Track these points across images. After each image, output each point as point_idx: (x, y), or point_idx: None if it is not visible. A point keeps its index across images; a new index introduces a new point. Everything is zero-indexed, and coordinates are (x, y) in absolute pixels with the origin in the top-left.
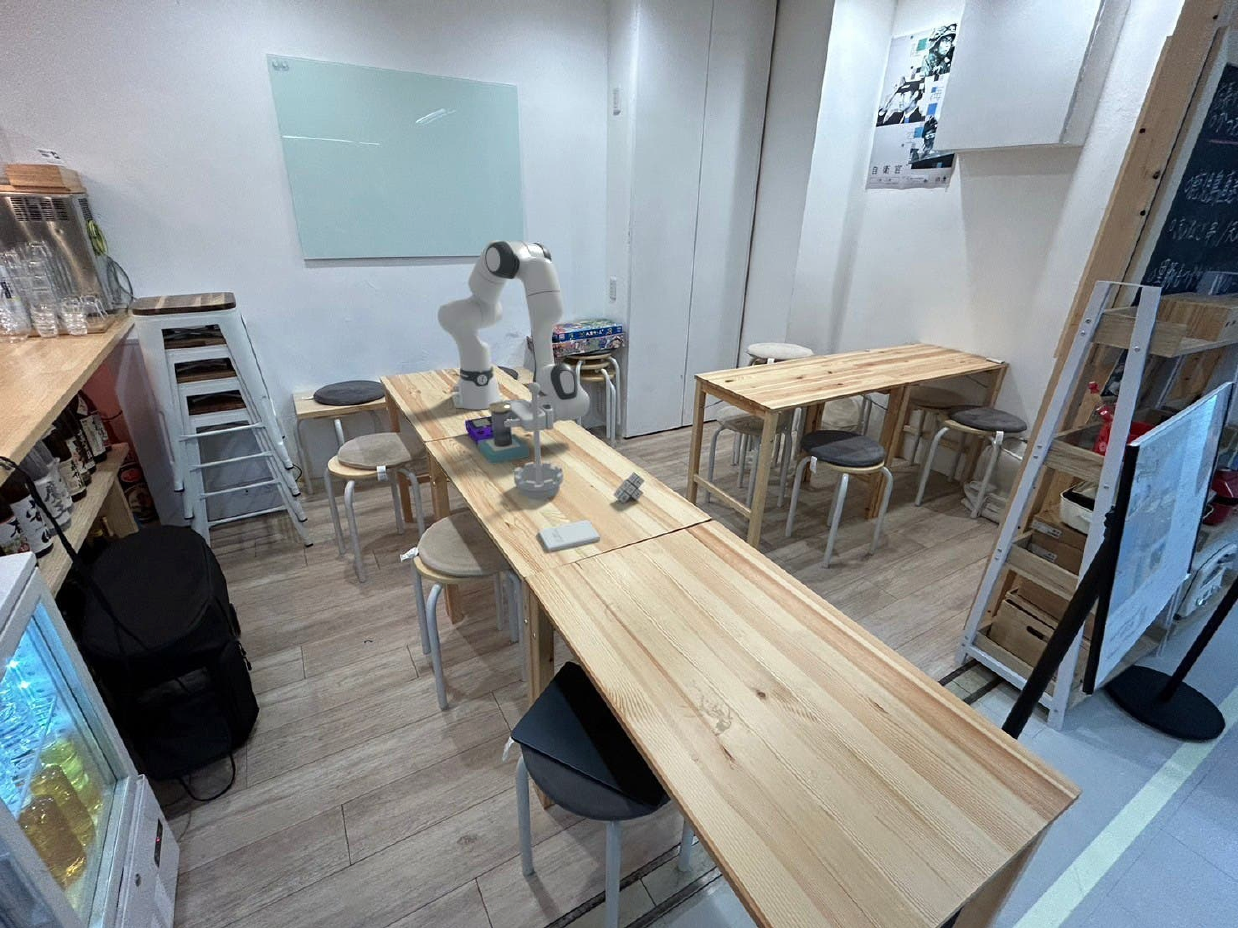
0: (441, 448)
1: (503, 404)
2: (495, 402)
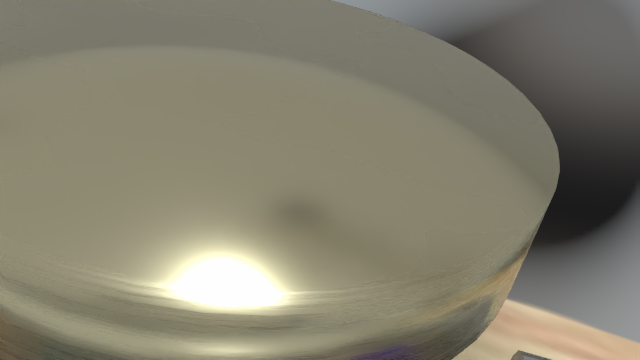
0: (602, 350)
1: (233, 124)
2: (542, 130)
